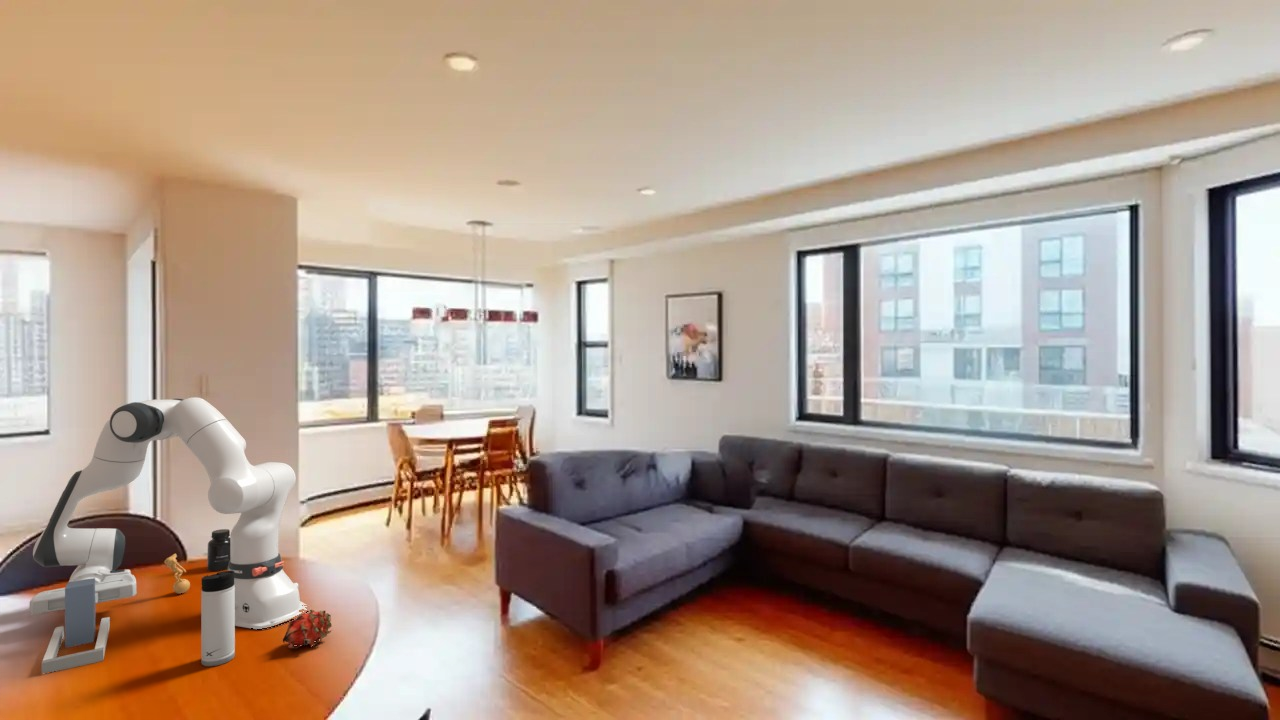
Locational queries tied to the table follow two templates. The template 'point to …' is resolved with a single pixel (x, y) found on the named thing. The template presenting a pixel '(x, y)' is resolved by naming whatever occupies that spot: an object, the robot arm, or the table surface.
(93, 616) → the block
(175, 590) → the figurine
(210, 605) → the travel mug
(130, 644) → the table surface
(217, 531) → the supplement bottle
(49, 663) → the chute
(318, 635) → the dragon fruit
